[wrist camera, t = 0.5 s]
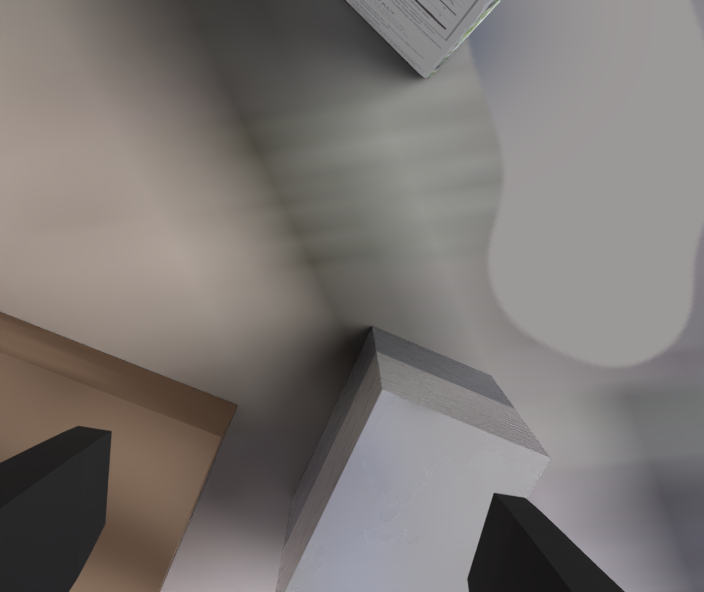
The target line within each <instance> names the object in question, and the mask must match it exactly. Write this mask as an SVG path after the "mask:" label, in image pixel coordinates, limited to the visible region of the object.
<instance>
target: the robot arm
mask: <svg viewBox="0 0 704 592" xmlns="http://www.w3.org/2000/svg"><path fill="white" fill-rule="evenodd" d="M111 437H112V431H108V430H102V429H96V428H90V427H83V426H76V427H74V428H71V429H69V430H67V431H65V432H62V433H60V434H58V435H56V436H54V437H52V438H50V439H48V440H46V441H43V442H41V443H39V444H37V445H35V446H33V447H31V448H29V449H27V450H25V451H23V452H21V453H19V454H17V455H15V456H13V457H11V458H9V459H7V460H5V461H3V462H1V463H0V592H69V591H70V589H71V588H72V586H73V585H74V583H75V582H76V580H77V578H78V577H79V575H80V573H81V571H82V569H83V567H84V565H85V563H86V562H87V560H88V558H89V556H90V554H91V552H92V550H93V548H94V546H95V544H96V542H97V540H98V538H99V536H100V534H101V532H102V530H103V528H104V526H105V522H106V508H107V494H108V479H109V465H110V451H111ZM467 582H468V589H469V592H624V591H623V590H622V589H621V588H620V587H619V586H618V585H617V584H616V583H615V582H614V581H613V580H612V579H611V578H609V577H608V576H607V575H606V574H605V573H604V572H603V571H602V570H601V569H600V568H599V567H598V566H597V565H596V564H595V563H594V562H593V561H592V560H591V559H590V558H589V557H588V556H586V555H585V554H584V553H583V552H582V551H581V550H580V549H579V548H578V547H577V546H576V545H575V544H574V543H573V542H572V541H571V540H570V539H569V538H568V537H567V536H566V535H565V534H564V533H563V532H562V531H561V530H560V529H559V528H558V527H557V526H555V525H554V524H553V523H552V522H551V521H550V520H549V519H548V518H547V517H546V516H545V515H544V514H543V513H542V512H541V511H540V510H539V509H537V508H536V507H535V506H534V505H533V504H532V503H531V502H529V501H528V500H527V499H526V498H524V497H518V496H512V495H506V494H499V493H493V497H492V500H491V503H490V506H489V510H488V513H487V516H486V519H485V523H484V526H483V529H482V532H481V536H480V539H479V542H478V545H477V549H476V552H475V555H474V558H473V562H472V565H471V568H470V571H469V574H468V578H467Z"/></svg>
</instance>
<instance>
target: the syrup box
mask: <svg viewBox="0 0 704 592" xmlns="http://www.w3.org/2000/svg"><path fill="white" fill-rule="evenodd" d="M346 1H347V2H348V3H349V4H350V5H351V6H352V7H353V8H354V9H355V10H356V11H357V12H358V13H359V14H360V15H361V16H362V17H363V18H364V19H365V20H366V21H367V22H368V23H369V24H370V25H371V26H372V27H373V28H374V29H375V30H376V31H377V32H378V33H379V34H380V35H381V36H382V37H383V38H384V39H385V40H386V41H387V42H388V43H389V44H390V45H391V46H392V47H393V48H394V49H395V50H396V51H397V52H398V53H399V54H400V55H401V56H402V57H403V58H404V59H405V60H406V61H407V62H408V63H409V64H410V65H411V66H412V67H413V68H414V69H415V70H416V71H417V72H418V73H419V74H420V75H421V76H423V77H424V78H430V77H431V76H432V75H433V74H434V73H435V72H436V71H437V70H438V68H439V67H440V66H441V65H442V64H443V63H444V62H445V61H446V60H447V59H448V57H449V56H450V55H451V54H452V53H453V52H454V51H455V50H456V49H457V48H458V47H459V46H460V45H461V44H462V43H463V41H464V40H465V39H466V38H467V37H468V36H469V35H470V34H471V33H472V31H474V29H475V28H476V27H477V26H478V25H479V24H480V23H481V22H482V21H483V19H484V18H485V17H486V16H487V15H488V14H489V13H490V12H491V11H492V9H493V8H494V7H495V6H496V5H497V4H498V3H499V2H500V0H346Z"/></svg>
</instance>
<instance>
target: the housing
mask: <svg viewBox="0 0 704 592" xmlns="http://www.w3.org/2000/svg"><path fill="white" fill-rule="evenodd" d="M549 460H550V456H549V455H548V454H547V452H546V451H545V449H544V448H543V447H542V445H541V444H540V443H539V441H538V440H537V438H536V437H535V436H534V434H533V433H532V432H531V430H530V429H529V427H528V426H527V425H526V423H525V422H524V421H523V419H522V418H521V416H520V415H519V414H518V412H517V411H516V410H515V408H514V407H513V405H512V404H511V403H510V401H509V400H508V398H507V397H506V396H505V394H504V393H503V392H502V390H501V389H500V387H499V386H498V385H497V383H496V382H495V381H494V379H493V378H492V376H491V375H488V374H486V373H483V372H481V371H479V370H476V369H474V368H471V367H469V366H467V365H464V364H462V363H460V362H457V361H455V360H452V359H450V358H448V357H445V356H443V355H440V354H438V353H436V352H433V351H431V350H429V349H426V348H424V347H421V346H419V345H417V344H414V343H412V342H410V341H407V340H405V339H402V338H400V337H398V336H395V335H393V334H390V333H388V332H386V331H383V330H381V329H379V328H376V327H374V326H372V328H371V330H370V332H369V334H368V337H367V339H366V341H365V343H364V345H363V347H362V350H361V352H360V354H359V356H358V358H357V360H356V363H355V365H354V367H353V369H352V371H351V373H350V375H349V378H348V380H347V382H346V384H345V386H344V388H343V391H342V393H341V395H340V397H339V399H338V401H337V404H336V406H335V408H334V410H333V412H332V414H331V417H330V419H329V421H328V423H327V425H326V427H325V429H324V432H323V434H322V436H321V438H320V440H319V442H318V445H317V447H316V449H315V451H314V453H313V455H312V458H311V460H310V462H309V464H308V466H307V468H306V471H305V473H304V475H303V477H302V479H301V481H300V483H299V486H298V488H297V490H296V492H295V494H294V496H293V499H292V504H291V509H290V515H289V520H288V526H287V532H286V537H285V543H284V548H283V554H282V560H281V565H280V571H279V576H278V582H277V587H276V592H469V589H468V582H467V578H468V574H469V571H470V568H471V565H472V562H473V558H474V555H475V552H476V549H477V545H478V542H479V539H480V536H481V532H482V529H483V526H484V523H485V519H486V516H487V513H488V510H489V506H490V503H491V500H492V497H493V493H499V494H506V495H512V496H518V497H524V498H526V499H527V498H528V496H529V495H530V493H531V491H532V490H533V488H534V486H535V484H536V483H537V481H538V479H539V477H540V476H541V474H542V472H543V471H544V469H545V467H546V465H547V464H548V462H549Z"/></svg>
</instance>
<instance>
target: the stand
mask: <svg viewBox="0 0 704 592" xmlns="http://www.w3.org/2000/svg"><path fill="white" fill-rule="evenodd" d="M237 406H238V405H236V404H233V403H230V402H228V401H225V400H223V399H220V398H218V397H215V396H213V395H210V394H208V393H205V392H202V391H200V390H197V389H195V388H192V387H190V386H187V385H185V384H182V383H180V382H177V381H174V380H172V379H169V378H167V377H164V376H162V375H159V374H157V373H154V372H152V371H149V370H146V369H144V368H141V367H139V366H136V365H134V364H131V363H129V362H126V361H124V360H121V359H118V358H116V357H113V356H111V355H108V354H106V353H103V352H101V351H98V350H95V349H93V348H90V347H88V346H85V345H83V344H80V343H78V342H75V341H73V340H70V339H67V338H65V337H62V336H60V335H57V334H55V333H52V332H50V331H47V330H45V329H42V328H39V327H37V326H34V325H32V324H29V323H27V322H24V321H22V320H19V319H17V318H14V317H11V316H9V315H6V314H4V313H1V312H0V463H1V462H3V461H5V460H7V459H9V458H11V457H13V456H15V455H17V454H19V453H21V452H23V451H25V450H27V449H29V448H31V447H33V446H35V445H37V444H39V443H41V442H43V441H46V440H48V439H50V438H52V437H54V436H56V435H58V434H60V433H62V432H65V431H67V430H69V429H71V428H74V427H76V426H83V427H90V428H96V429H102V430H108V431H112V437H111V451H110V465H109V479H108V494H107V508H106V522H105V526H104V528H103V530H102V532H101V534H100V536H99V538H98V540H97V542H96V544H95V546H94V548H93V550H92V552H91V554H90V556H89V558H88V560H87V562H86V563H85V565H84V567H83V569H82V571H81V573H80V575H79V577H78V578H77V580H76V582H75V583H74V585H73V586H72V588H71V589H70V591H69V592H160V591H161V588H162V586H163V583H164V581H165V579H166V576H167V574H168V571H169V569H170V567H171V564H172V562H173V559H174V557H175V555H176V552H177V550H178V547H179V545H180V543H181V540H182V538H183V535H184V533H185V531H186V528H187V526H188V523H189V521H190V519H191V516H192V514H193V511H194V509H195V507H196V504H197V502H198V499H199V497H200V495H201V492H202V490H203V487H204V485H205V483H206V480H207V478H208V475H209V473H210V470H211V468H212V466H213V463H214V461H215V458H216V456H217V454H218V451H219V449H220V446H221V444H222V442H223V439H224V437H225V434H226V432H227V430H228V427H229V425H230V422H231V420H232V418H233V415H234V413H235V410H236V408H237Z"/></svg>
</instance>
